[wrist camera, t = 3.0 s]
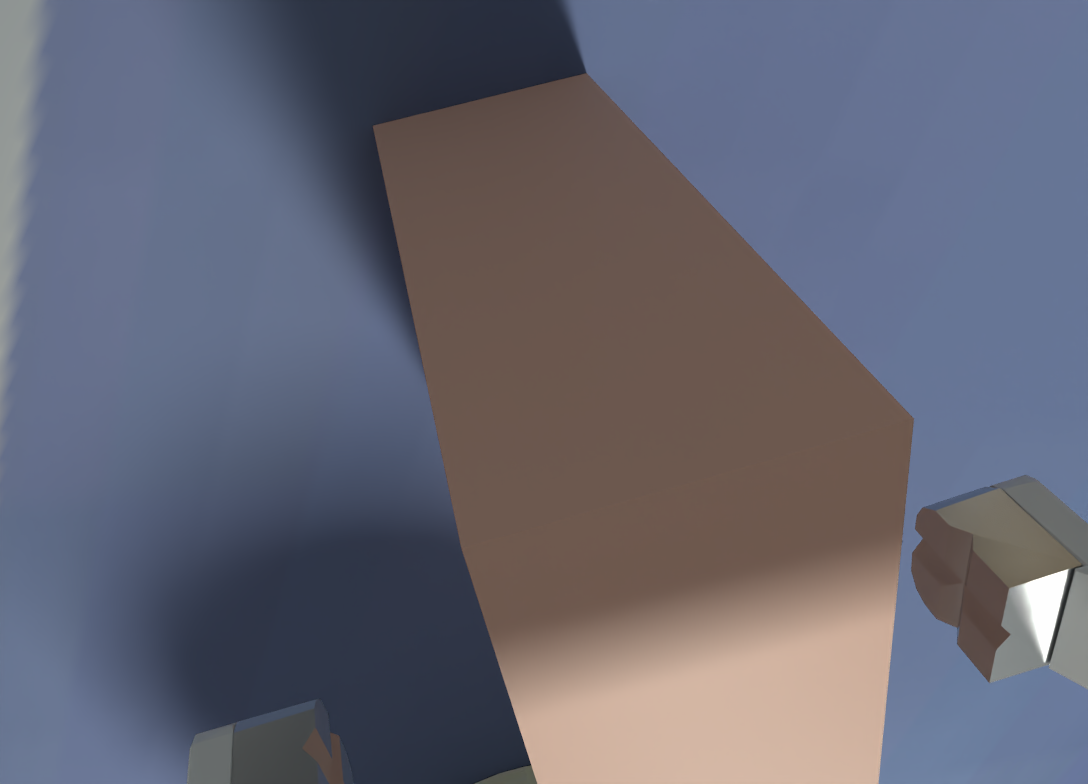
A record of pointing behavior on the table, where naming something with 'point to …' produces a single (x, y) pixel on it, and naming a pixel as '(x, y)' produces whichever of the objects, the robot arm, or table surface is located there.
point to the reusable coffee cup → (512, 777)
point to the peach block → (646, 454)
